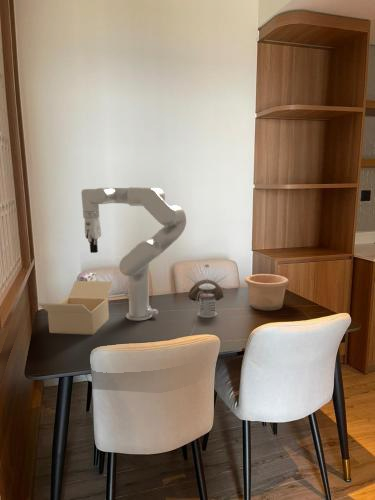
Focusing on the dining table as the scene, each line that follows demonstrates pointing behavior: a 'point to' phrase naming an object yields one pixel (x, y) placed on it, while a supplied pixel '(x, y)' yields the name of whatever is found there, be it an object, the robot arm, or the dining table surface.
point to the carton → (80, 317)
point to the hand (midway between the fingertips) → (94, 252)
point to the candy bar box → (88, 277)
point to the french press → (207, 301)
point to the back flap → (90, 289)
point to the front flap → (64, 308)
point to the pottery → (266, 291)
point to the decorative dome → (195, 290)
